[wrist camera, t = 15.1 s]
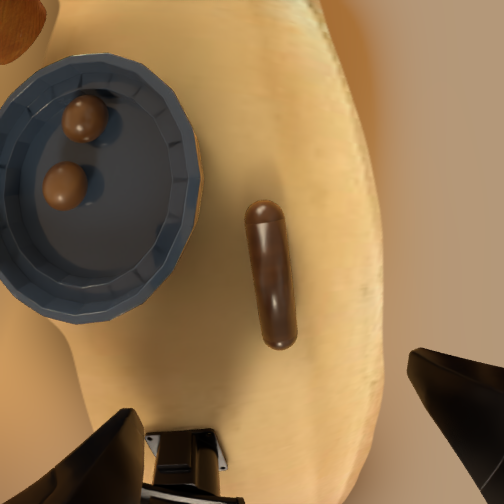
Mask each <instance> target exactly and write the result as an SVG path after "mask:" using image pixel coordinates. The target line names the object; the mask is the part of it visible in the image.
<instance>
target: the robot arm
mask: <svg viewBox="0 0 504 504" xmlns="http://www.w3.org/2000/svg"><path fill="white" fill-rule="evenodd" d="M407 375H408V378H409V379H410V381H411V383H412V385H413V387H414V388H415V390H416V392H417V394H418V396H419V397H420V399H421V401H422V403H423V405H424V407H425V408H426V410H427V411H428V413H429V414H430V416H431V417H432V418H433V420H434V422H435V423H436V424H437V426H438V427H439V429H440V430H441V432H442V433H443V435H444V436H445V438H446V439H447V440H448V442H449V443H450V445H451V447H452V448H453V449H454V451H455V453H456V454H457V456H458V457H459V459H460V460H461V461H462V463H463V465H464V466H465V468H466V469H467V471H468V473H469V474H470V475H471V477H472V479H473V480H474V482H475V484H476V485H477V487H478V488H479V490H481V491H480V492H481V494H482V495H483V497H484V498H485V500H486V502H487V503H488V504H504V368H502V367H498V366H493V365H489V364H485V363H481V362H476V361H472V360H468V359H464V358H460V357H456V356H452V355H448V354H444V353H440V352H436V351H432V350H429V349H425V348H418V349H415V350H412V351H411V352H410V353H409V359H408V366H407ZM208 433H211V434H208ZM150 437H151V438H150ZM145 440H146V442H147V444H148V445H149V447H150V449H151V451H152V452H153V454H154V456H155V457H156V461H155V468H154V474H153V481H152V485H151V484H147V483H143V473H144V427H143V425H142V423H141V421H140V419H139V417H138V415H137V413H136V411H135V410H134V409H133V408H122V409H120V410H119V411H118V412H117V413H116V414H115V415H113V416H112V417H111V418H110V419H109V420H108V421H107V422H106V423H104V424H103V425H102V426H101V427H100V428H99V429H98V430H97V431H95V432H94V433H93V434H92V435H91V436H90V437H89V438H87V439H86V440H85V441H84V442H83V443H82V444H81V445H80V446H79V447H77V448H76V449H75V450H74V451H72V452H71V453H70V454H69V455H68V456H67V457H65V459H63V460H62V461H61V462H60V463H58V464H57V465H56V466H55V468H53V469H51V470H50V471H49V472H48V473H47V474H45V475H44V476H43V477H42V478H40V479H39V480H38V481H36V482H35V483H34V484H32V485H31V486H29V487H28V488H26V489H25V490H24V491H22V492H20V493H19V494H17V495H16V496H14V497H12V498H11V499H9V500H8V501H6V502H5V503H3V504H245V502H244V499H243V498H242V497H236V498H230V497H220V481H219V471H225V470H227V469H228V464H227V462H226V459H225V457H224V454H223V452H222V449H221V446H220V444H219V441H218V438H217V436H216V433H215V431H214V430H213V429H211V428H206V429H197V430H185V431H171V432H149V433H146V434H145Z"/></svg>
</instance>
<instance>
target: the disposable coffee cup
mask: <svg viewBox="0 0 504 504" xmlns="http://www.w3.org/2000/svg"><path fill="white" fill-rule="evenodd" d="M45 20H46V10H45V8H44V6H43V5H42V3H41V2H40V0H0V65H5V64H8V63H10V62H12V61H14V60H15V59H17V58H18V57H20V56H21V55H22V54H23V53H24V52H25V51H26V50H27V49H28V48H29V47H30V46H31V45H32V44H33V42H34V41H35V40H36V38H37V37H38V35H39V34H40V32H41V30H42V28H43V26H44V23H45Z"/></svg>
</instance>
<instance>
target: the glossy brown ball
mask: <svg viewBox="0 0 504 504" xmlns="http://www.w3.org/2000/svg"><path fill="white" fill-rule="evenodd" d="M87 188H88V180H87V176H86V174H85V172H84V170H83V169H82V168H81V167H80V166H79V165H78V164H76V163H74V162H70V161H63V162H59V163H57V164H55V165H54V166H52V167H51V168H50V169H49V170H48V172H47V173H46V175H45V177H44V180H43V185H42V191H43V196H44V198H45V200H46V202H47V203H48V204H49V205H50V206H51V207H52V208H54V209H56V210H59V211H68V210H71V209H73V208H75V207H77V206H78V205H79V204H80V203H81V202H82V201H83V199H84V197H85V195H86V193H87Z"/></svg>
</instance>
